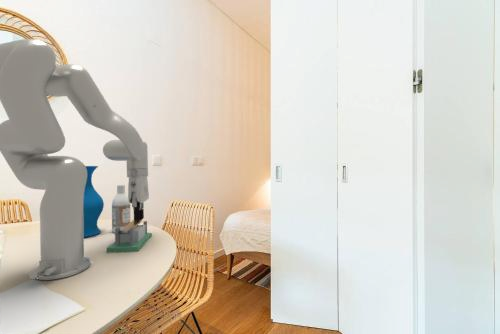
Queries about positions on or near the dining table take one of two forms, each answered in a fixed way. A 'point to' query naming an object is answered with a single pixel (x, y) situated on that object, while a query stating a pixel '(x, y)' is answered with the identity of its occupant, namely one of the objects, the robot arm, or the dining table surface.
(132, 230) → the grey and green block
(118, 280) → the dining table surface
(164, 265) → the dining table surface
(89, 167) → the vase
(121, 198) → the bath foam
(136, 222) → the tan wooden bar
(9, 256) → the dining table surface
